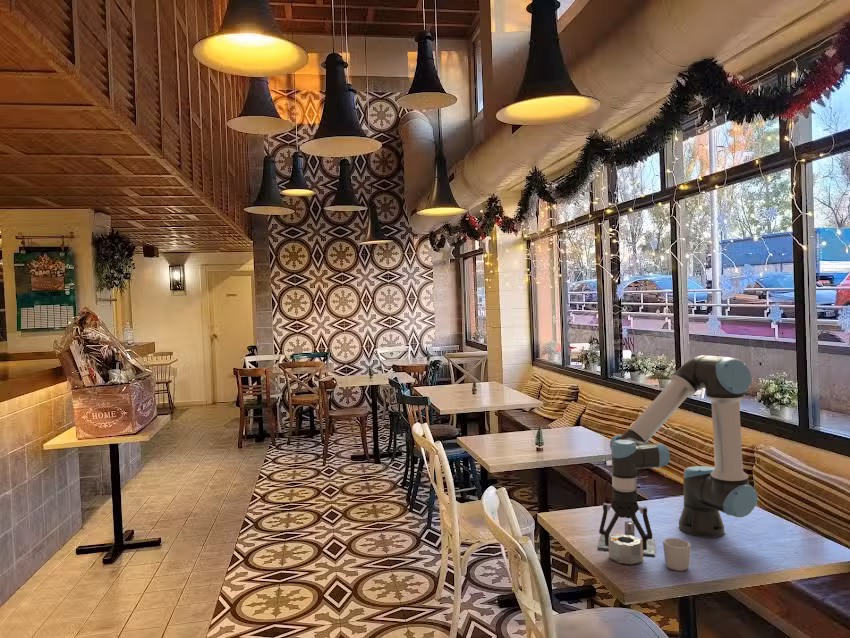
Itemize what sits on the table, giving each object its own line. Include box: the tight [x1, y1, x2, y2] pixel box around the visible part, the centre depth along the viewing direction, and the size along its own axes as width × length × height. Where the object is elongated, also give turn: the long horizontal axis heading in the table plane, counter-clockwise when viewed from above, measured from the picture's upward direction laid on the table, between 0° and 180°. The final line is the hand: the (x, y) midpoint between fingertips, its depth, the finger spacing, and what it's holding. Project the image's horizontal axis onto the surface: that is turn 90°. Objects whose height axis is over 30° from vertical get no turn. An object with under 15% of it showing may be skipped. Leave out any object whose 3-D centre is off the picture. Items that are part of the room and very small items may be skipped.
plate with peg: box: [597, 520, 656, 558], centre depth 204 cm, size 18×13×8 cm
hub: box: [610, 533, 642, 565], centre depth 193 cm, size 9×9×6 cm
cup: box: [662, 537, 692, 572], centre depth 188 cm, size 11×8×8 cm
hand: (625, 557), depth 193 cm, fingers closed on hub, 9 cm apart
